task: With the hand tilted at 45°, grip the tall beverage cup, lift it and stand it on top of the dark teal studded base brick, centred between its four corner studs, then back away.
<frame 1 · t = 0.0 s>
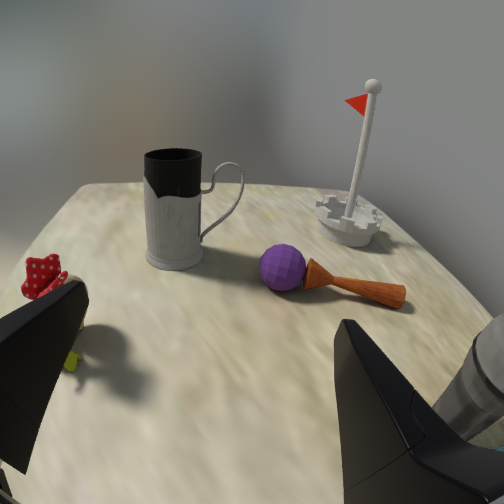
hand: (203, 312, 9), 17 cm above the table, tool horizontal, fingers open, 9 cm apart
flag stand: (343, 233, 55), on the table
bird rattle: (70, 344, 25), on the table
beverage cup: (429, 441, 19), on the table
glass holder: (192, 253, 43), on the table
kendama: (329, 296, 38), on the table
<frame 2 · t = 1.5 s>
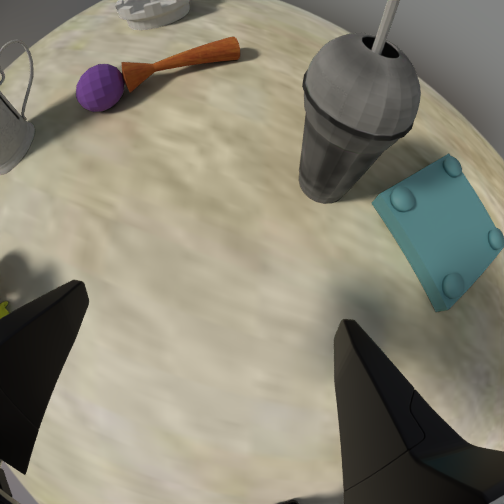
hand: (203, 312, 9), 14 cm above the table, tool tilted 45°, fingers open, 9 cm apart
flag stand: (158, 15, 35), on the table
beverage cup: (322, 182, 26), on the table
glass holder: (26, 134, 28), on the table
base brick: (442, 228, 25), on the table
kendama: (161, 81, 30), on the table
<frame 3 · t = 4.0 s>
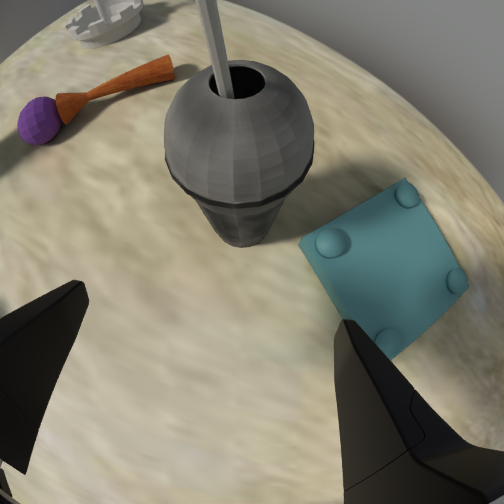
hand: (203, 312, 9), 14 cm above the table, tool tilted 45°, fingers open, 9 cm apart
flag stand: (110, 31, 33), on the table
beverage cup: (242, 222, 24), on the table
base brick: (388, 269, 23), on the table
kendama: (98, 109, 28), on the table
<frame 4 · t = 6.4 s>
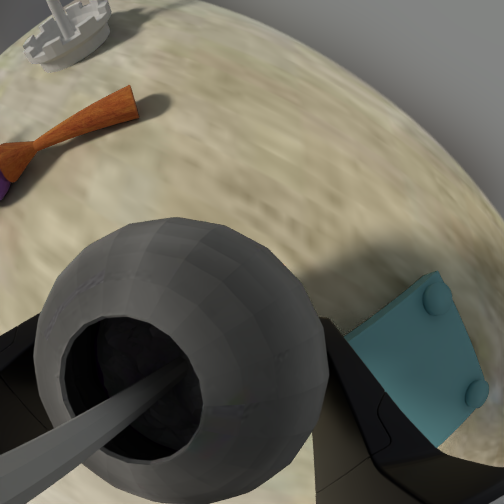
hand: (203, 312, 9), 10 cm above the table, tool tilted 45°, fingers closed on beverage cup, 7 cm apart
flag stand: (75, 47, 27), on the table
beverage cup: (222, 339, 18), on the table, touching gripper
base brick: (402, 386, 17), on the table
kendama: (51, 158, 22), on the table
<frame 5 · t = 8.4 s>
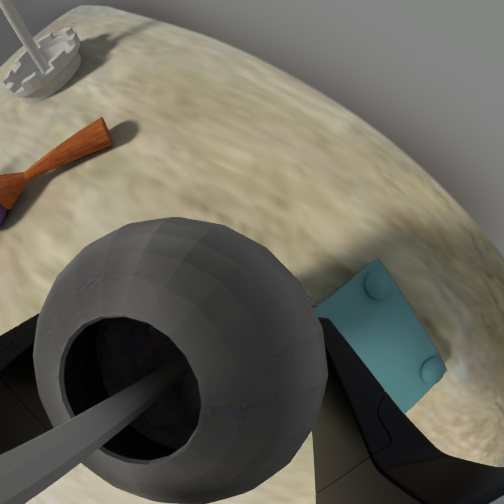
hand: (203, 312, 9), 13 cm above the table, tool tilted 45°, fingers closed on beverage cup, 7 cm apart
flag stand: (51, 77, 29), on the table
beverage cup: (222, 339, 18), point 3 cm above the table, touching gripper
base brick: (355, 364, 21), on the table
kendama: (40, 185, 25), on the table
when the fingers open (12 cm above the table, at t = 10.4 s): beverage cup stays where it is, resting on base brick.
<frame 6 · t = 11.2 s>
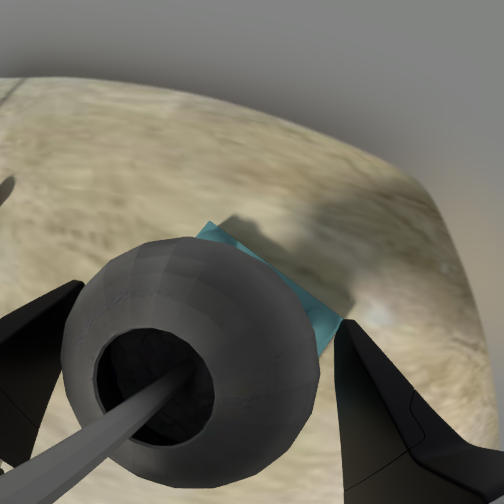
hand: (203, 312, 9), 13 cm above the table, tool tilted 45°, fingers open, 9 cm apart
beverage cup: (223, 341, 19), point 2 cm above the table, touching base brick
base brick: (225, 337, 21), on the table
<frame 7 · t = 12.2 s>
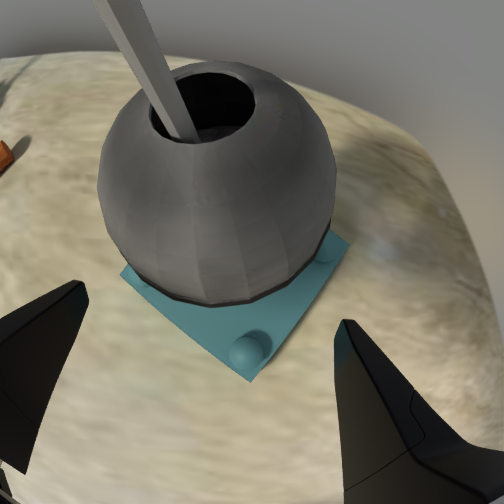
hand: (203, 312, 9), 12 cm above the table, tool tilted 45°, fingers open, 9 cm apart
beverage cup: (233, 263, 20), point 2 cm above the table, touching base brick
base brick: (234, 265, 22), on the table
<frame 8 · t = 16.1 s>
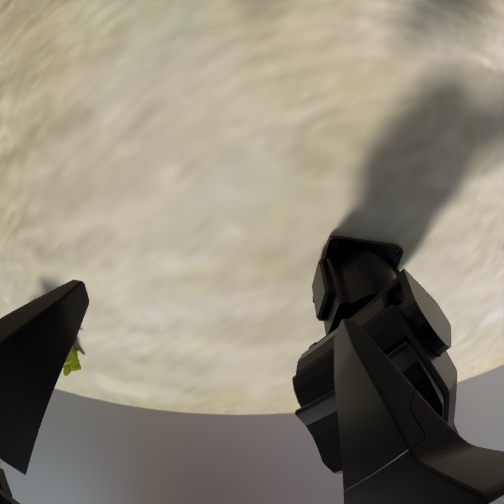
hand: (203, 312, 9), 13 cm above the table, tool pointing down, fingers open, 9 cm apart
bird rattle: (60, 337, 33), on the table
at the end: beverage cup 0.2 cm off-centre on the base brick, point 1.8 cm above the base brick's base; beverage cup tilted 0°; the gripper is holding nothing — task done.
